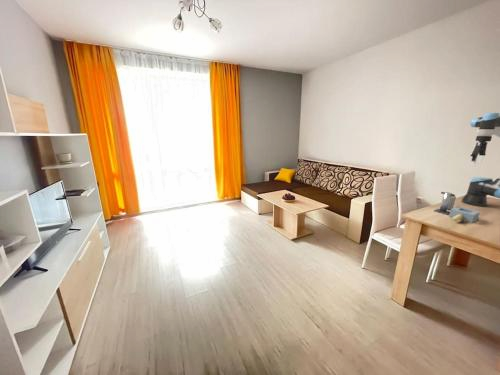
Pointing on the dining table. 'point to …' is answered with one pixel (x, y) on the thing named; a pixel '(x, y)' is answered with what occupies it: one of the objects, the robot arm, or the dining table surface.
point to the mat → (442, 212)
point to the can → (450, 202)
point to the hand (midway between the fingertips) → (475, 164)
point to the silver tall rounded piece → (445, 201)
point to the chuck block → (464, 214)
